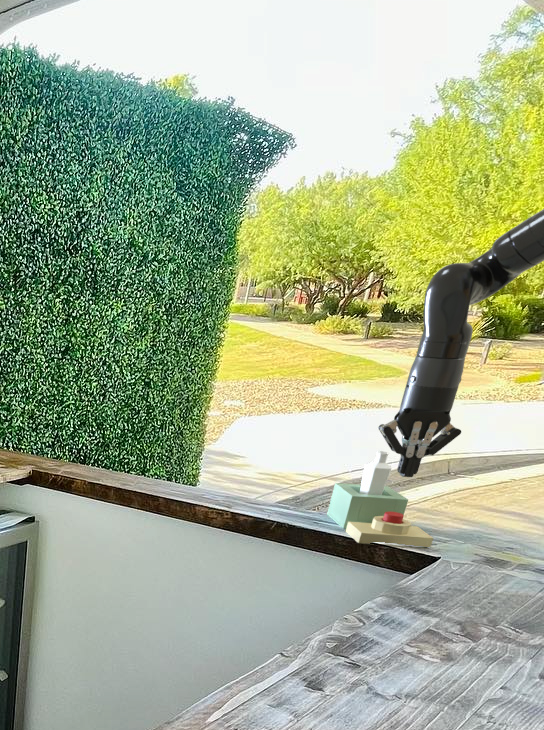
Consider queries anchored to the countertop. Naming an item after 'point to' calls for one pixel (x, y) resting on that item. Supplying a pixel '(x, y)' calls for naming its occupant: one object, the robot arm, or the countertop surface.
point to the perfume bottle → (375, 475)
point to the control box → (388, 533)
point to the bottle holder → (362, 504)
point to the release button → (393, 517)
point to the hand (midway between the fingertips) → (405, 476)
